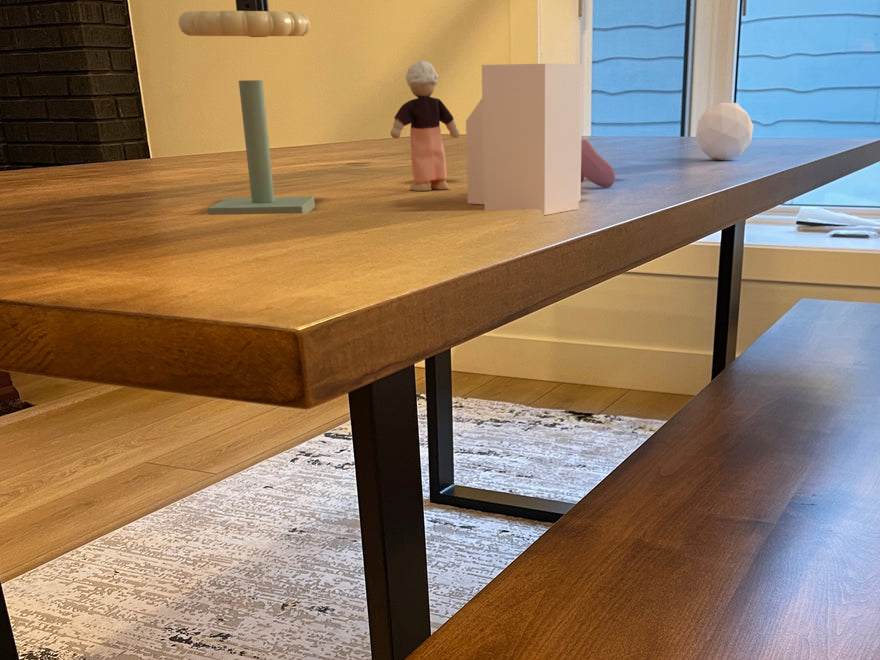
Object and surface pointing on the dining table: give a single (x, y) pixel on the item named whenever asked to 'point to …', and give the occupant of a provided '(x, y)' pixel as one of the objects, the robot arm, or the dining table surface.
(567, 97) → the white angular block
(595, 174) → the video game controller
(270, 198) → the green peg stand
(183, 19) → the bracelet
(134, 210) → the dining table surface
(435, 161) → the grandmother figurine
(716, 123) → the geometric ball
